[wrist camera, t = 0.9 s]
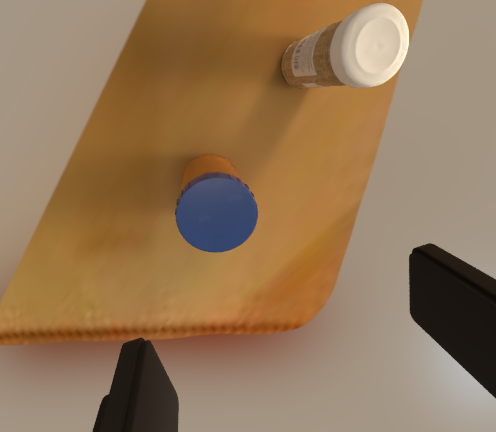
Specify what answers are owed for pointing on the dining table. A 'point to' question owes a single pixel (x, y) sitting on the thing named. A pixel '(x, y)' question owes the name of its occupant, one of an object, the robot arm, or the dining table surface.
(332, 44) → the sprinkles bottle
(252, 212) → the lid
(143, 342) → the robot arm
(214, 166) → the jar
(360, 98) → the dining table surface
